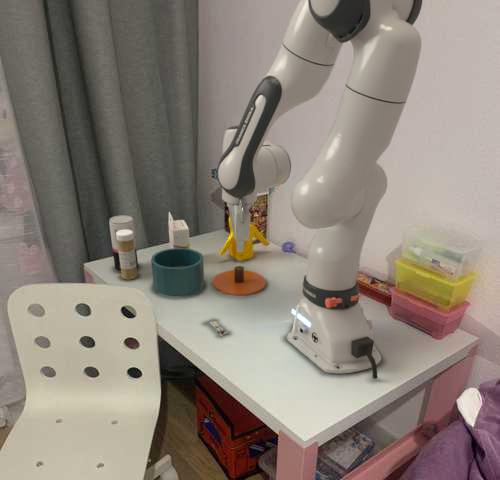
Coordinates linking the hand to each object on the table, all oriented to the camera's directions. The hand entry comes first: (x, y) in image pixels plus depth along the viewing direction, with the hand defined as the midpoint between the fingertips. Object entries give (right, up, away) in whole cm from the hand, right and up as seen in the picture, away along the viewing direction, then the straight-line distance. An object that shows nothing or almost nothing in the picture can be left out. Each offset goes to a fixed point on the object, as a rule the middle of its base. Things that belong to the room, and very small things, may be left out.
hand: (238, 243), depth 129 cm
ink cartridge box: (-18, -3, +19) cm, 26 cm away
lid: (0, -10, +6) cm, 12 cm away
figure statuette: (+1, -1, +23) cm, 23 cm away
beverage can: (-33, -5, +14) cm, 36 cm away
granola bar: (-5, -23, -14) cm, 27 cm away
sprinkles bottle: (-31, -8, +9) cm, 33 cm away
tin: (-16, -11, +4) cm, 20 cm away
